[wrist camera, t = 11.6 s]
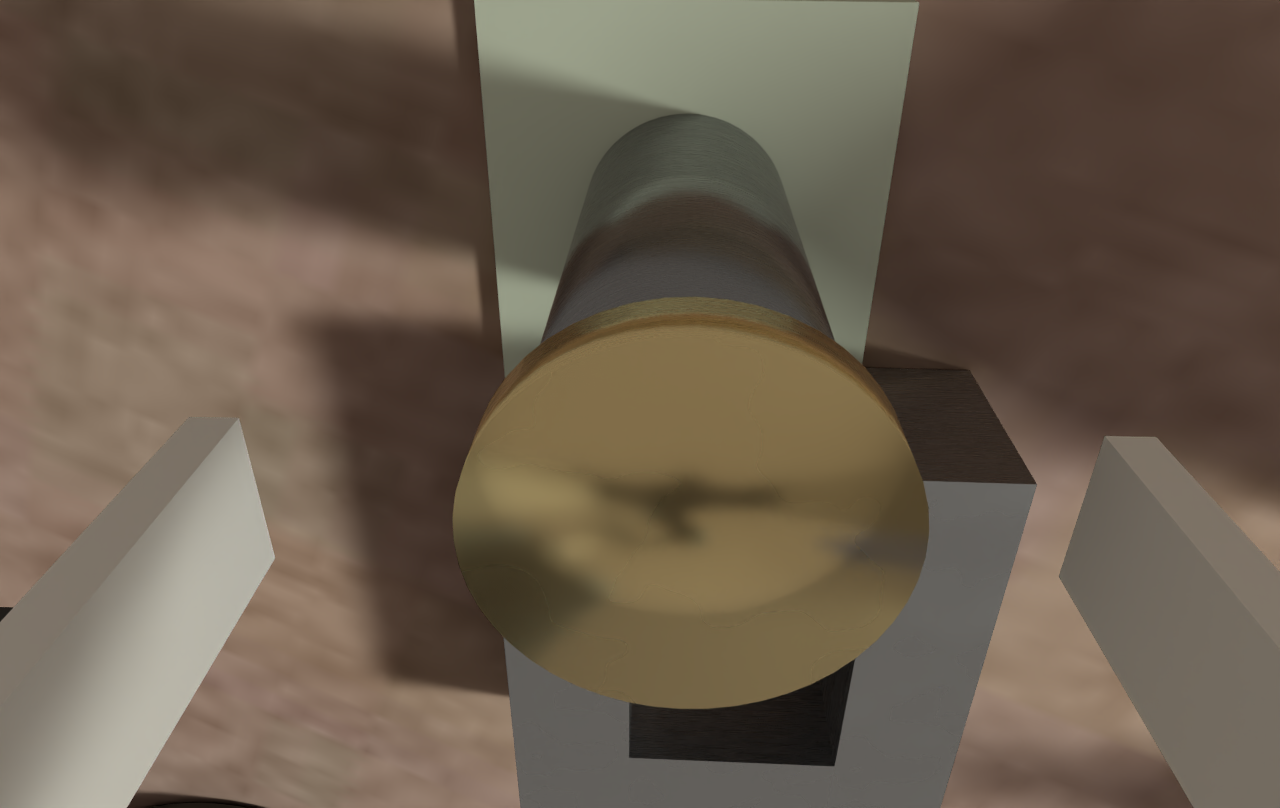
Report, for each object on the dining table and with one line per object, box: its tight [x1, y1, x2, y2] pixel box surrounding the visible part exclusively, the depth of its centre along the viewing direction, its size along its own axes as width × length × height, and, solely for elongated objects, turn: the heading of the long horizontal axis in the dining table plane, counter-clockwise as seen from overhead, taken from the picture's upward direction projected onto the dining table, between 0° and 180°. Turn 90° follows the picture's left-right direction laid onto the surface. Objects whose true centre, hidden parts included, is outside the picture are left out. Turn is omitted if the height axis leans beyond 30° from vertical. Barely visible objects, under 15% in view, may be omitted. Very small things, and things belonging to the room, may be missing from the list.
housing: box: [504, 368, 1037, 808], centre depth 29 cm, size 14×16×6 cm
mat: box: [474, 0, 919, 378], centre depth 25 cm, size 11×11×1 cm
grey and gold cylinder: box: [453, 114, 929, 709], centre depth 18 cm, size 7×7×14 cm
